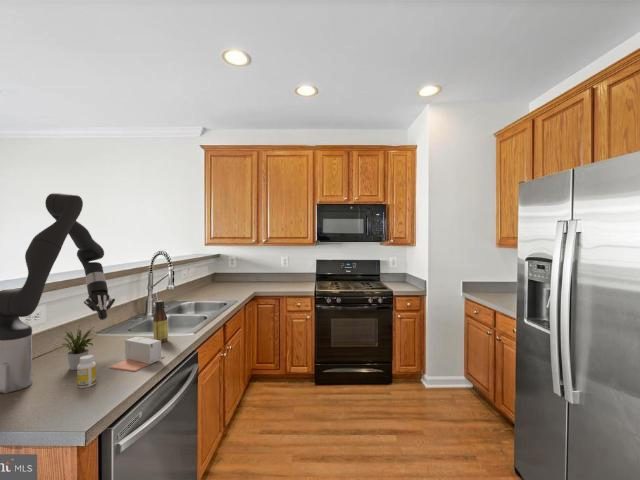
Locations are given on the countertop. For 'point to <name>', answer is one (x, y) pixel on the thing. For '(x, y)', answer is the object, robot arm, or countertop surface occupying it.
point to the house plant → (76, 348)
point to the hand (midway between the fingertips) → (103, 319)
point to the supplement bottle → (86, 372)
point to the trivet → (130, 365)
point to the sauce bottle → (160, 322)
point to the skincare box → (143, 350)
